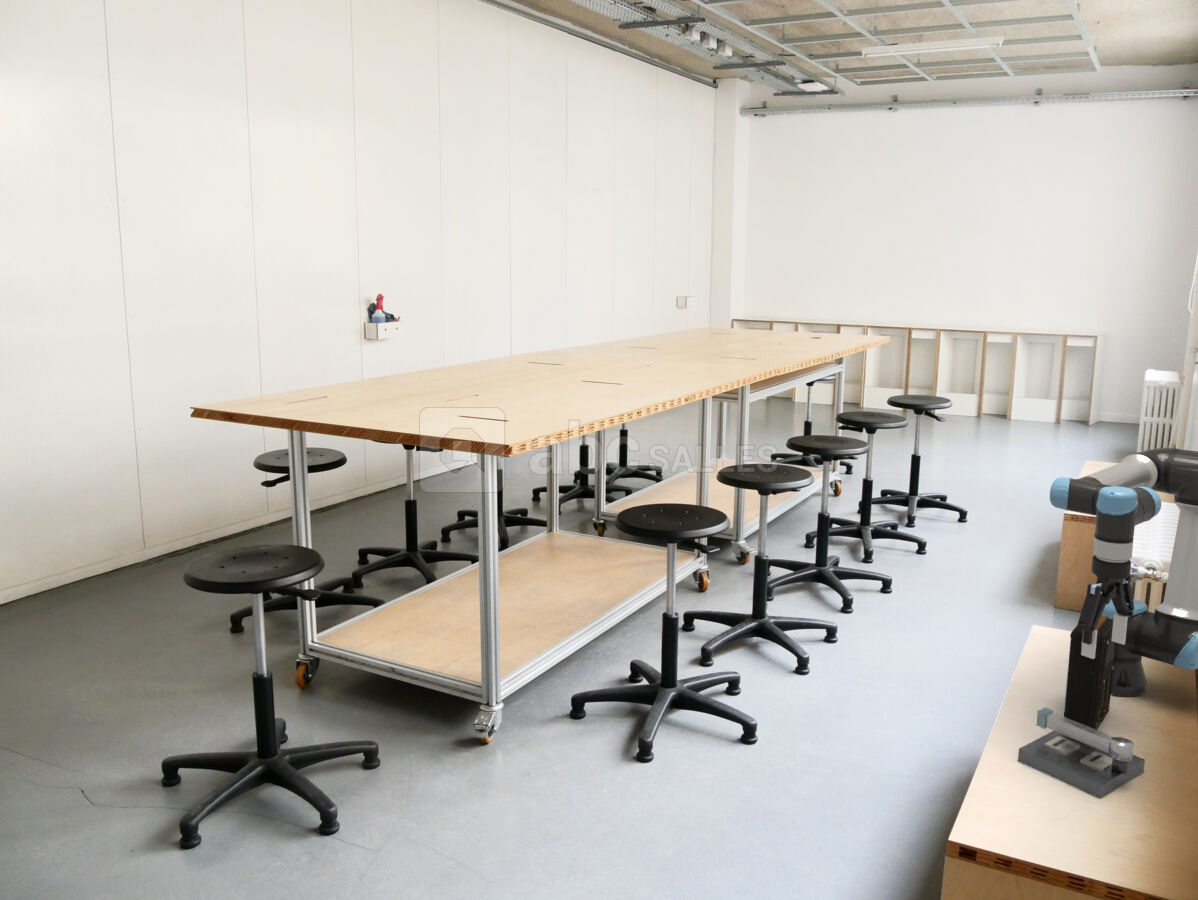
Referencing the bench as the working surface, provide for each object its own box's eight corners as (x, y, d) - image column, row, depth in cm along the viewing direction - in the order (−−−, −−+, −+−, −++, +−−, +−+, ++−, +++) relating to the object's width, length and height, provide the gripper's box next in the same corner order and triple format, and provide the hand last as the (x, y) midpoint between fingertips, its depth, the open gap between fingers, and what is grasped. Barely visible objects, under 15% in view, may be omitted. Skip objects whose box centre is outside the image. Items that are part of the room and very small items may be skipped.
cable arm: (1045, 720, 222) (1046, 706, 222) (1136, 757, 206) (1137, 742, 205) (1034, 726, 220) (1036, 711, 219) (1125, 764, 203) (1127, 748, 202)
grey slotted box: (1061, 737, 227) (1063, 714, 226) (1145, 772, 211) (1148, 747, 210) (1017, 760, 217) (1019, 736, 216) (1102, 799, 201) (1105, 773, 200)
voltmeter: (1098, 736, 227) (1108, 637, 222) (1059, 725, 233) (1068, 629, 228) (1113, 711, 239) (1122, 617, 234) (1076, 702, 245) (1084, 610, 240)
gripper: (1123, 542, 219) (1115, 631, 223) (1064, 564, 205) (1057, 657, 210) (1157, 550, 213) (1148, 641, 217) (1099, 573, 199) (1090, 669, 204)
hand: (1103, 649), depth 213 cm, fingers open, 12 cm apart
